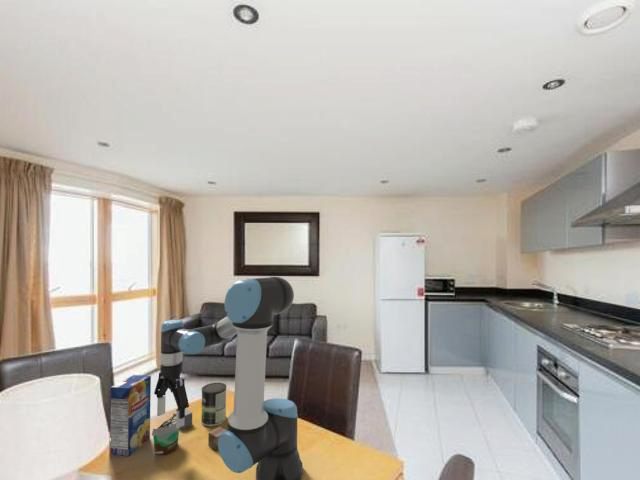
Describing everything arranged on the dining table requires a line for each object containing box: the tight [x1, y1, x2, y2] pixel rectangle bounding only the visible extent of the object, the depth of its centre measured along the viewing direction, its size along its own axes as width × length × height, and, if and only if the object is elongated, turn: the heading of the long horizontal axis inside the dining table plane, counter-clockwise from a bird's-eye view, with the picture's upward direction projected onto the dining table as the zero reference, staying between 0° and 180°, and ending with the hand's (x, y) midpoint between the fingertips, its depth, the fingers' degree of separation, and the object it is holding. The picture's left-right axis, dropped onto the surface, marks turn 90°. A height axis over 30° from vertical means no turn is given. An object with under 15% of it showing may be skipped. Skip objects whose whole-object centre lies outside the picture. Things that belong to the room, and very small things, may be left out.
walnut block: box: [208, 426, 227, 451], centre depth 122 cm, size 5×5×5 cm
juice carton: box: [108, 374, 152, 458], centre depth 122 cm, size 12×8×24 cm, turn 172°
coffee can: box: [200, 382, 227, 427], centre depth 141 cm, size 10×10×14 cm
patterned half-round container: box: [151, 413, 180, 457], centre depth 120 cm, size 12×6×10 cm, turn 168°
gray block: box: [174, 408, 193, 430], centre depth 137 cm, size 5×5×5 cm
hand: (170, 420), depth 121 cm, fingers open, 13 cm apart
